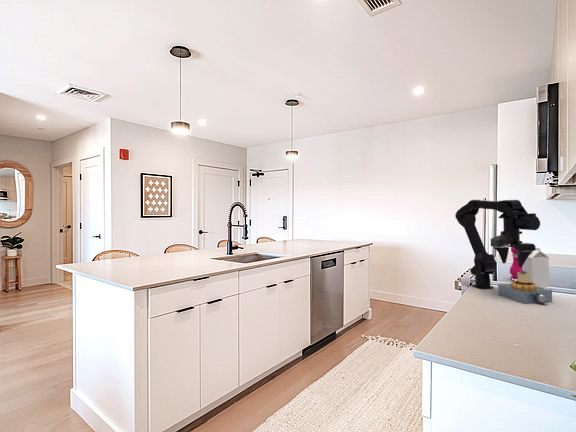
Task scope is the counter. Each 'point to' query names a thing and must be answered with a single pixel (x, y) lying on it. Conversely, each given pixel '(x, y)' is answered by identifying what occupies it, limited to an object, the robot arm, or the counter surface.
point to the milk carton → (537, 268)
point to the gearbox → (525, 293)
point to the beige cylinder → (523, 278)
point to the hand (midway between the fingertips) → (512, 265)
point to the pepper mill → (515, 264)
